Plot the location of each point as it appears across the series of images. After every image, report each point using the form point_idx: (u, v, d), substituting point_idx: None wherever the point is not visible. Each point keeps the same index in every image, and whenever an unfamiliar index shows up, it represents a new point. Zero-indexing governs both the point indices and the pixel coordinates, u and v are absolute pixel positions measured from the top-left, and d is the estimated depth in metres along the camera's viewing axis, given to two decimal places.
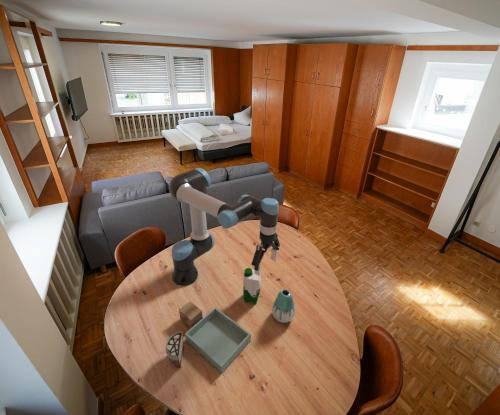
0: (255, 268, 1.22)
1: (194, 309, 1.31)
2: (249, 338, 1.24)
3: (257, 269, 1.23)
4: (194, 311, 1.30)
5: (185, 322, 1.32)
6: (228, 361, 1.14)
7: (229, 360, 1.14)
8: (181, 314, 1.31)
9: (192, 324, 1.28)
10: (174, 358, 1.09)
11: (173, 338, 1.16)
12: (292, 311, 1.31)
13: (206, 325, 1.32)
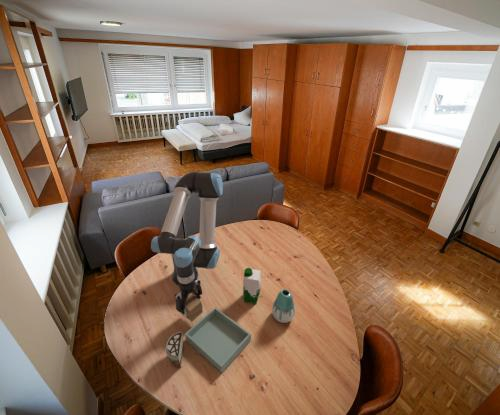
0: (181, 312, 1.26)
1: (193, 300, 1.29)
2: (249, 338, 1.24)
3: (183, 313, 1.27)
4: (193, 302, 1.28)
5: None
6: (228, 361, 1.14)
7: (229, 360, 1.14)
8: None
9: (191, 315, 1.26)
10: (174, 358, 1.09)
11: (173, 338, 1.16)
12: (292, 311, 1.31)
13: (206, 325, 1.32)
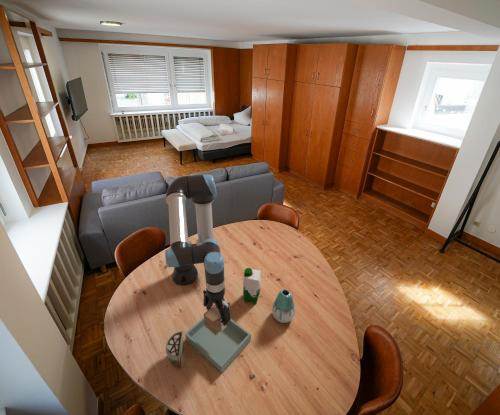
0: None
1: (217, 315, 1.14)
2: (249, 338, 1.24)
3: None
4: (215, 315, 1.14)
5: None
6: (228, 361, 1.14)
7: (229, 360, 1.14)
8: None
9: (205, 320, 1.16)
10: (174, 358, 1.09)
11: (173, 338, 1.16)
12: (292, 311, 1.31)
13: None
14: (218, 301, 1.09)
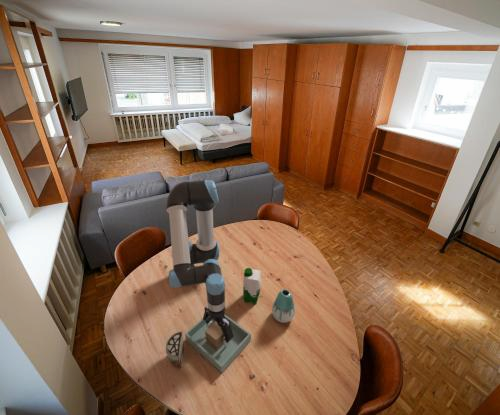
0: None
1: (217, 332, 1.20)
2: (249, 338, 1.24)
3: None
4: (216, 332, 1.20)
5: None
6: (228, 361, 1.14)
7: (229, 360, 1.14)
8: None
9: (206, 337, 1.22)
10: (174, 358, 1.09)
11: (173, 338, 1.16)
12: (292, 311, 1.31)
13: (206, 325, 1.32)
14: (219, 319, 1.15)
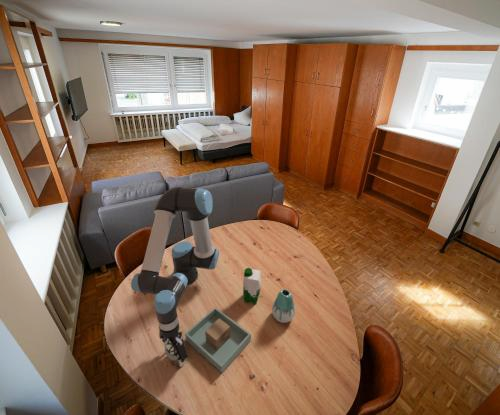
0: None
1: (217, 332, 1.20)
2: (249, 338, 1.24)
3: (164, 344, 1.18)
4: (216, 332, 1.20)
5: None
6: (228, 361, 1.14)
7: (229, 360, 1.14)
8: None
9: (206, 337, 1.22)
10: (172, 358, 1.09)
11: None
12: (292, 311, 1.31)
13: (206, 325, 1.32)
14: (172, 338, 1.08)
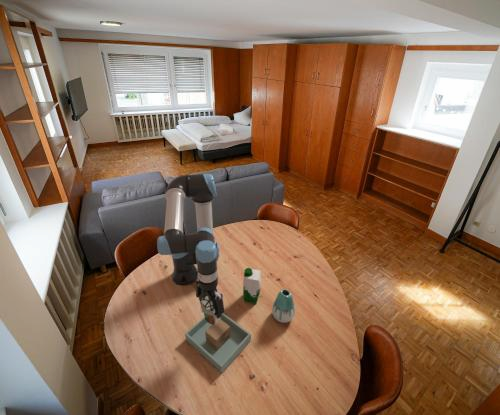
0: None
1: (217, 332, 1.20)
2: (249, 338, 1.24)
3: (200, 303, 1.16)
4: (216, 332, 1.20)
5: None
6: (228, 361, 1.14)
7: (229, 360, 1.14)
8: None
9: (206, 337, 1.22)
10: (209, 313, 1.07)
11: None
12: (292, 311, 1.31)
13: (206, 325, 1.32)
14: (210, 292, 1.05)
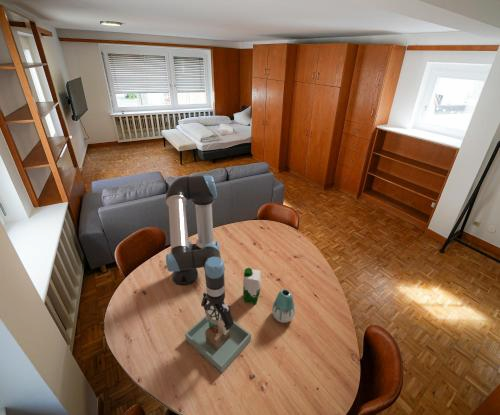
0: None
1: None
2: (249, 338, 1.24)
3: (205, 312, 1.21)
4: None
5: None
6: (228, 361, 1.14)
7: (229, 360, 1.14)
8: None
9: (206, 337, 1.22)
10: (214, 322, 1.13)
11: None
12: (292, 311, 1.31)
13: (206, 325, 1.32)
14: (218, 305, 1.10)
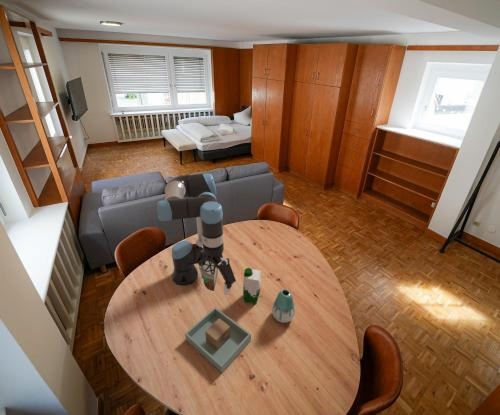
0: None
1: (217, 332, 1.20)
2: (249, 338, 1.24)
3: (200, 269, 1.09)
4: (216, 332, 1.20)
5: None
6: (228, 361, 1.14)
7: (229, 360, 1.14)
8: None
9: (206, 337, 1.22)
10: (209, 277, 1.01)
11: None
12: (292, 311, 1.31)
13: (206, 325, 1.32)
14: (216, 259, 0.98)
